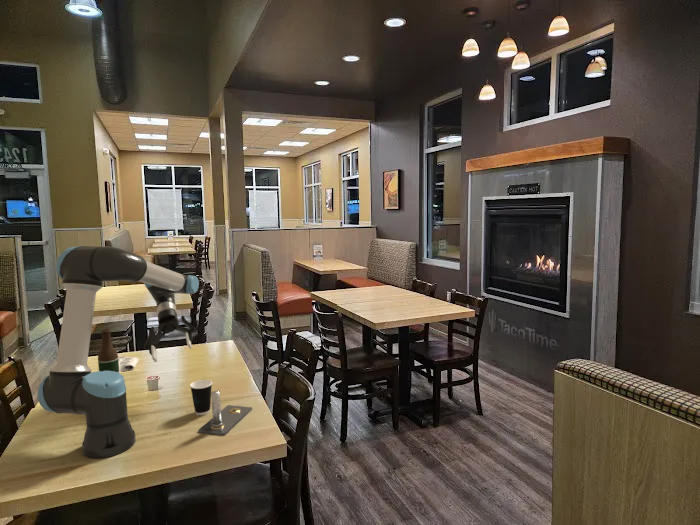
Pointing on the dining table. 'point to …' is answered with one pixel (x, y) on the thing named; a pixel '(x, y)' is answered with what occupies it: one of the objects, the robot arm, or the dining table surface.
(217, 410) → the post
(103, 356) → the beer bottle
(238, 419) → the plate
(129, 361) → the folded newspaper
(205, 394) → the dixie cup
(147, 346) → the robot arm
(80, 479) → the dining table surface
